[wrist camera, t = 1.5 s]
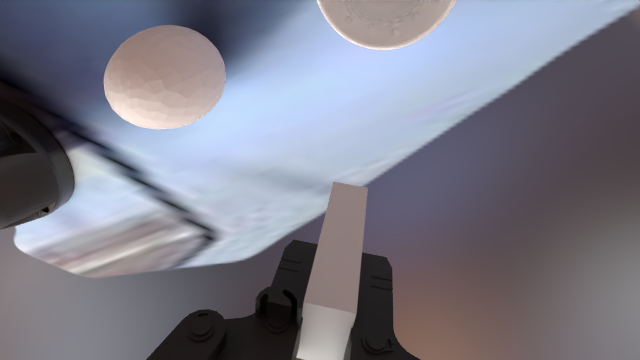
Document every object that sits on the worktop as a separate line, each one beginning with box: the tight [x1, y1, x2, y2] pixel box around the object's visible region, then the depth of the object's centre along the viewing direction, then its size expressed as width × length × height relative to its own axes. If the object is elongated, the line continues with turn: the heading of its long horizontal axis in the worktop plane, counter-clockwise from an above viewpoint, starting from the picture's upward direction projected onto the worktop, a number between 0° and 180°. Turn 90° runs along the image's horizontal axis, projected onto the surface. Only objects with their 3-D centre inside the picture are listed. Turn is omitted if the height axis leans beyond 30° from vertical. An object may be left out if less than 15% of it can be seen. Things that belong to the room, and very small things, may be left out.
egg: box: [104, 25, 226, 129], centre depth 27 cm, size 7×7×12 cm
